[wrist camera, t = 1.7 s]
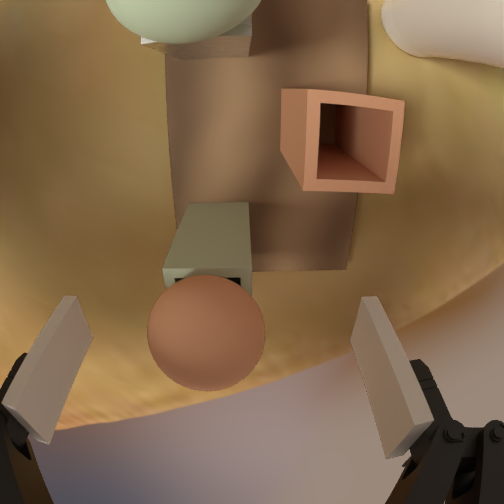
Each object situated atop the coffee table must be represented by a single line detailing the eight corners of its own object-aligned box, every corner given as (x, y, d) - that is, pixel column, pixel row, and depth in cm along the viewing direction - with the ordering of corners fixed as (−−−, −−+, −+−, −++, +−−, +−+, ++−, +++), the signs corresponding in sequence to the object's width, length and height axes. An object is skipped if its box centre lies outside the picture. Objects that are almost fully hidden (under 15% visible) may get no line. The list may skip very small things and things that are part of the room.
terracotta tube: (280, 150, 19) (303, 190, 12) (281, 88, 17) (307, 88, 10) (340, 152, 19) (394, 194, 12) (344, 93, 17) (404, 101, 10)
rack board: (184, 263, 24) (182, 272, 23) (170, -4, 14) (165, -8, 13) (341, 261, 25) (345, 269, 24) (360, 2, 15) (366, -1, 14)
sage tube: (193, 255, 23) (174, 333, 16) (188, 203, 21) (162, 268, 14) (248, 254, 23) (252, 333, 16) (248, 202, 21) (251, 267, 14)
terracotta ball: (168, 332, 16) (152, 409, 12) (152, 253, 14) (118, 329, 9) (261, 333, 16) (266, 412, 12) (262, 252, 14) (271, 331, 10)
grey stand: (181, 60, 16) (140, 44, 9) (181, 3, 14) (144, -43, 7) (248, 57, 16) (251, 35, 9) (247, -1, 14) (251, -53, 7)
